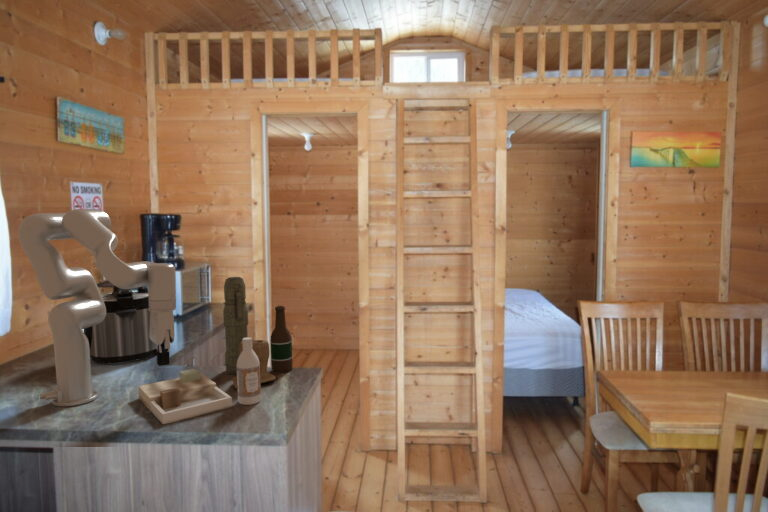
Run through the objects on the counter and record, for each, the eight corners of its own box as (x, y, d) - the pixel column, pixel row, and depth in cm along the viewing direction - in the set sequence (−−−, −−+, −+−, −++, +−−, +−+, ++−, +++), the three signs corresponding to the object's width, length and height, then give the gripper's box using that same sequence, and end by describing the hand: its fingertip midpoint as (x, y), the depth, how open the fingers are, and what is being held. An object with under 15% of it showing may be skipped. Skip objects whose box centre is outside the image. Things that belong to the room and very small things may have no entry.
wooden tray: (150, 411, 154) (149, 398, 153) (139, 398, 164) (138, 386, 164) (216, 395, 166) (216, 383, 166) (201, 384, 177) (201, 373, 177)
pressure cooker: (113, 347, 230) (109, 276, 227) (175, 347, 228) (171, 276, 226) (68, 367, 200) (63, 286, 197) (138, 367, 198) (134, 286, 196)
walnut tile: (161, 407, 155) (163, 409, 153) (160, 391, 155) (162, 393, 153) (178, 403, 158) (180, 405, 156) (177, 387, 158) (180, 389, 156)
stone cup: (265, 374, 187) (264, 334, 186) (279, 383, 177) (278, 340, 176) (224, 383, 178) (222, 340, 177) (237, 392, 168) (235, 347, 167)
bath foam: (242, 407, 155) (239, 342, 154) (235, 400, 161) (232, 337, 160) (264, 402, 159) (261, 338, 158) (256, 395, 165) (254, 334, 163)
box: (163, 424, 143) (162, 414, 143) (150, 411, 153) (150, 401, 153) (232, 407, 156) (231, 397, 156) (216, 395, 166) (216, 386, 166)
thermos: (233, 376, 185) (229, 280, 182) (220, 369, 194) (216, 277, 191) (256, 371, 190) (252, 278, 187) (242, 364, 200) (239, 275, 197)
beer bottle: (283, 365, 198) (281, 303, 196) (296, 369, 193) (294, 306, 191) (267, 370, 192) (264, 306, 190) (280, 374, 187) (278, 309, 185)
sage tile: (184, 382, 167) (184, 375, 167) (180, 378, 171) (179, 371, 171) (200, 379, 170) (199, 372, 170) (195, 375, 174) (194, 368, 174)
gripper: (142, 302, 158) (143, 360, 159) (155, 310, 146) (157, 373, 148) (168, 299, 162) (168, 356, 164) (183, 307, 151) (183, 368, 152)
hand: (163, 364), depth 156 cm, fingers closed
